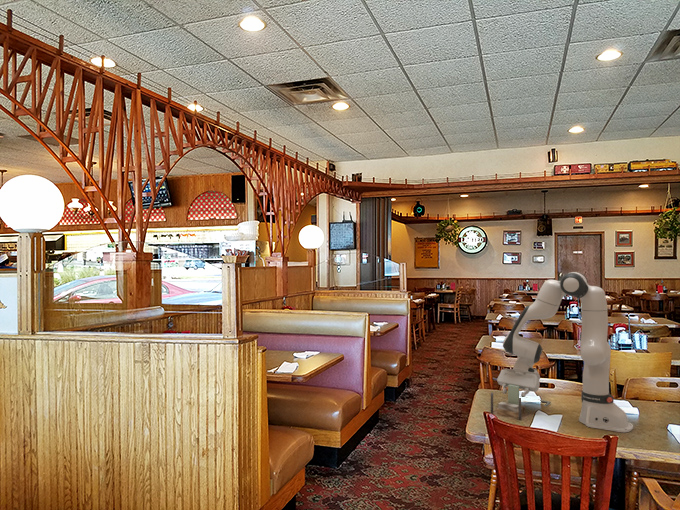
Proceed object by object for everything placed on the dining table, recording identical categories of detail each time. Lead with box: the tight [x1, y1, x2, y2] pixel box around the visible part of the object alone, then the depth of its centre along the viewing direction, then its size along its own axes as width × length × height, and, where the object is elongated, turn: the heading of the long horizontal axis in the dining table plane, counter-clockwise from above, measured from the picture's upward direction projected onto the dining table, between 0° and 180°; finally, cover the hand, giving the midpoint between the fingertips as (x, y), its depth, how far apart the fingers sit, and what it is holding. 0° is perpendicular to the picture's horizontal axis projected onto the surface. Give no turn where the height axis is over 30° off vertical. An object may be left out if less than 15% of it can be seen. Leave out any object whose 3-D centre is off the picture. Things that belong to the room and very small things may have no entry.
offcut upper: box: [497, 401, 519, 412], centre depth 250 cm, size 9×4×2 cm, turn 48°
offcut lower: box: [496, 407, 519, 418], centre depth 250 cm, size 10×5×2 cm, turn 48°
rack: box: [490, 392, 532, 421], centre depth 251 cm, size 16×12×12 cm
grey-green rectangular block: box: [507, 385, 520, 405], centre depth 254 cm, size 5×2×13 cm, turn 48°
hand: (513, 394), depth 254 cm, fingers open, 8 cm apart
